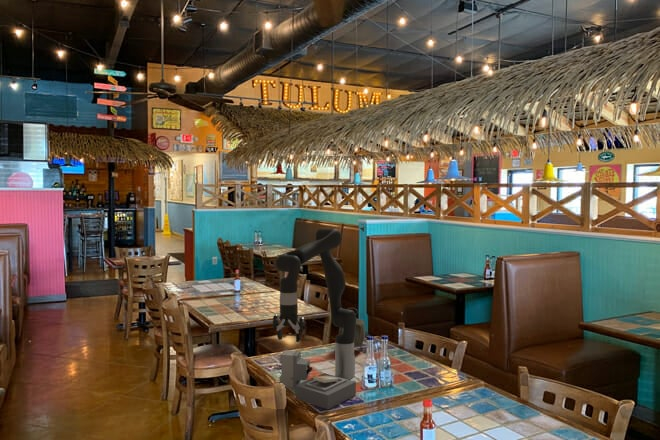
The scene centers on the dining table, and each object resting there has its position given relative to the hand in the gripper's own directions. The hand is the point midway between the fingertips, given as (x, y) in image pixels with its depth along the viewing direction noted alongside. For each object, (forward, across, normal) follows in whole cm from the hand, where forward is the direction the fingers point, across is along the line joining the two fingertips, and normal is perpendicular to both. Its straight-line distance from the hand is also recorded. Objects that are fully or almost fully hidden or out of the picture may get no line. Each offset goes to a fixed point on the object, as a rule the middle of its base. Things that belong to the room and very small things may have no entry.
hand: (289, 340), depth 213 cm
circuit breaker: (+28, +8, -21) cm, 36 cm away
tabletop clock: (+29, +5, -82) cm, 87 cm away
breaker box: (+28, -11, -14) cm, 33 cm away
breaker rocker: (+20, -11, -14) cm, 26 cm away
